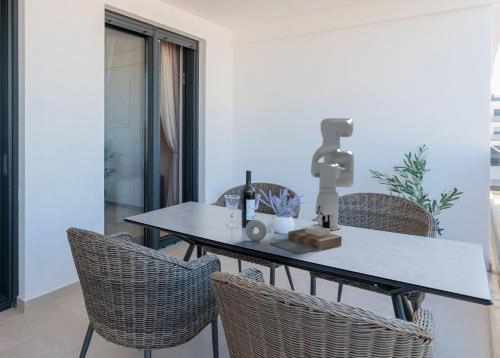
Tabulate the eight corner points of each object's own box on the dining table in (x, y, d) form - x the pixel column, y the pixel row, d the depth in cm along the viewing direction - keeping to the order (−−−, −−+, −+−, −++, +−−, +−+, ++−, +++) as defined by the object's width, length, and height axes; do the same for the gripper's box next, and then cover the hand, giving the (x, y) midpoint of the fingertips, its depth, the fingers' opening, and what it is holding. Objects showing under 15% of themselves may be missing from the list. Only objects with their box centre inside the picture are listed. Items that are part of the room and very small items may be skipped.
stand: (288, 239, 177) (288, 231, 177) (309, 235, 186) (309, 227, 185) (320, 250, 161) (320, 241, 161) (341, 245, 170) (341, 236, 169)
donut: (244, 241, 174) (244, 220, 173) (245, 239, 177) (246, 218, 176) (265, 242, 172) (266, 221, 171) (266, 240, 175) (267, 219, 174)
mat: (270, 244, 169) (270, 243, 169) (288, 240, 176) (288, 239, 176) (298, 254, 155) (298, 253, 155) (316, 250, 162) (316, 248, 162)
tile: (305, 232, 176) (305, 227, 176) (315, 230, 180) (315, 225, 180) (319, 236, 169) (319, 231, 168) (330, 234, 173) (330, 229, 173)
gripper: (331, 188, 183) (330, 225, 185) (310, 190, 174) (308, 229, 176) (344, 190, 177) (342, 228, 179) (322, 192, 168) (321, 233, 170)
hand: (325, 229), depth 177 cm, fingers closed
